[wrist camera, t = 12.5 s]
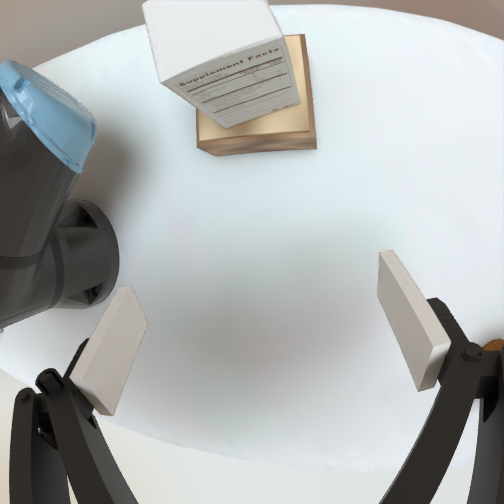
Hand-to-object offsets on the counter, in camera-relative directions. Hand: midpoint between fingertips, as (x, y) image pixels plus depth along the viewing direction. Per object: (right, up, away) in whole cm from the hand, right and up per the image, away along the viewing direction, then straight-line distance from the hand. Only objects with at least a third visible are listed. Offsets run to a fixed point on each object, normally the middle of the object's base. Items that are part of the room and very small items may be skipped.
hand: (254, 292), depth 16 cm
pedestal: (+1, +18, +16) cm, 24 cm away
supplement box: (0, +17, +10) cm, 20 cm away
